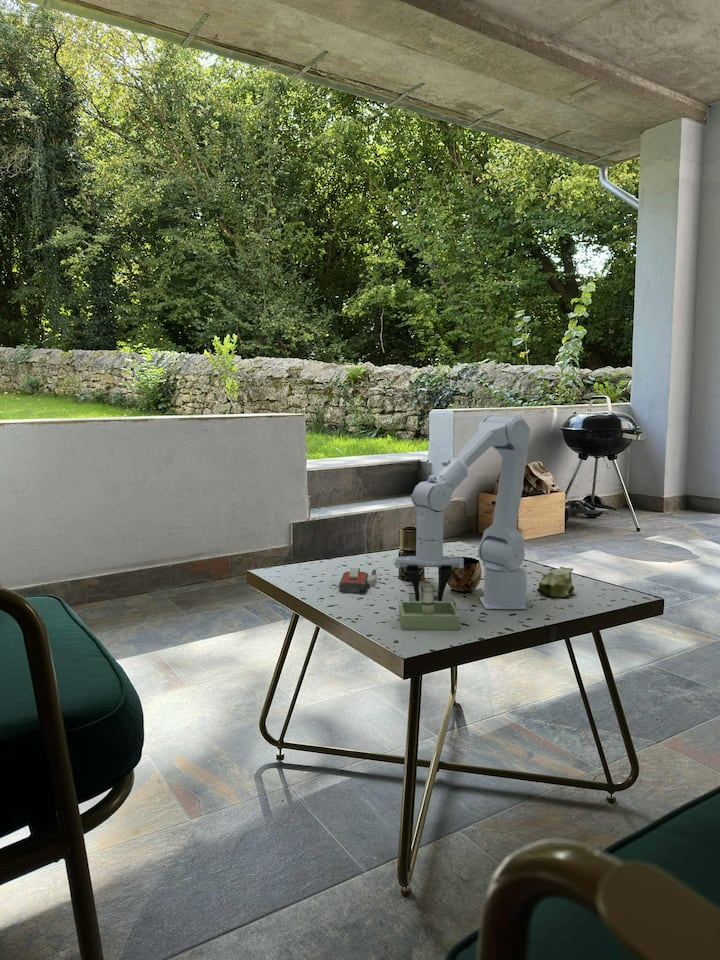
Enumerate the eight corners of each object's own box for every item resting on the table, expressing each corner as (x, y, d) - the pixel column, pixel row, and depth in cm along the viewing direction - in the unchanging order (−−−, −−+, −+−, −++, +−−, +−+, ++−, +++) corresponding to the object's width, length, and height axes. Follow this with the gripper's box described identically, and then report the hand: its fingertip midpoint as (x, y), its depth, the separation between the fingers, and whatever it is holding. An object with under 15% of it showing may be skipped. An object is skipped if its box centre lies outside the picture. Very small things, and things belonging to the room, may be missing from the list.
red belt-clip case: (373, 597, 176) (378, 575, 195) (373, 579, 175) (378, 559, 195) (337, 596, 176) (346, 574, 196) (337, 578, 176) (346, 559, 196)
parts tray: (452, 614, 161) (452, 601, 161) (458, 630, 152) (459, 616, 151) (399, 614, 161) (399, 601, 161) (401, 629, 151) (402, 616, 151)
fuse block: (451, 601, 171) (451, 593, 171) (455, 611, 164) (455, 602, 164) (409, 601, 171) (409, 593, 171) (411, 611, 164) (411, 602, 164)
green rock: (563, 593, 183) (572, 564, 181) (575, 608, 174) (584, 577, 172) (528, 587, 182) (536, 557, 181) (539, 601, 173) (547, 570, 172)
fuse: (433, 616, 158) (432, 583, 157) (435, 620, 155) (434, 587, 154) (421, 617, 158) (420, 584, 157) (422, 621, 155) (421, 587, 154)
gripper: (396, 542, 150) (396, 605, 152) (466, 542, 150) (464, 605, 152) (394, 534, 157) (394, 595, 159) (461, 535, 157) (459, 595, 159)
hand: (428, 599), depth 156 cm, fingers open, 4 cm apart
